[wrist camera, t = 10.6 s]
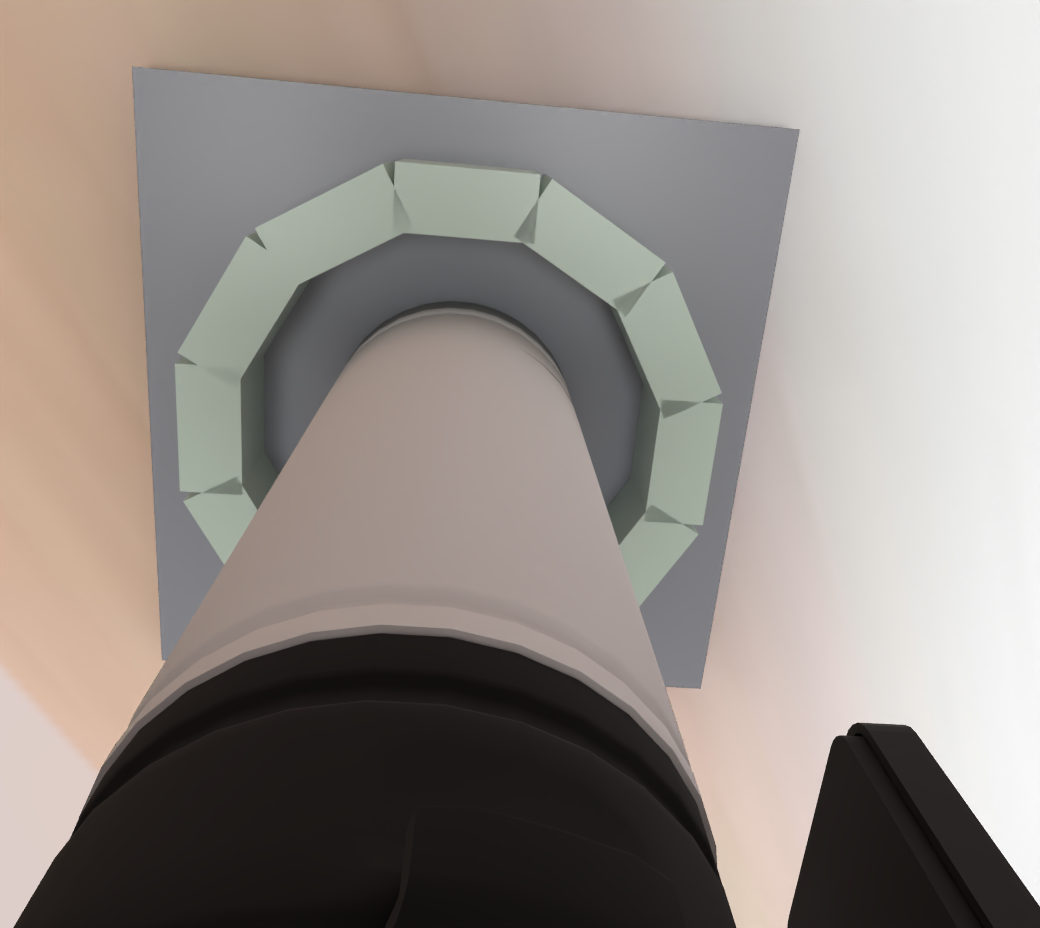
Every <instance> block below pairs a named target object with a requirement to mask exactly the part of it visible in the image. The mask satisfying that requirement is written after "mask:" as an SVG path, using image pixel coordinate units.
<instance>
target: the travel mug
mask: <svg viewBox="0 0 1040 928" xmlns="http://www.w3.org/2000/svg"><path fill="white" fill-rule="evenodd" d="M14 928H736V925H735V922H734V919H733V916H732V913H731V909H730V906H729V903H728V900H727V897H726V894H725V890H724V887H723V885H722V882H721V879H720V876H719V873H718V869H717V856H716V845H715V841H714V838H713V835H712V831H711V828H710V825H709V822H708V818H707V815H706V812H705V808H704V805H703V802H702V798H701V795H700V792H699V789H698V786H697V783H696V780H695V777H694V774H693V772H692V770H691V766H690V763H689V760H688V756H687V753H686V750H685V747H684V743H683V740H682V737H681V734H680V731H679V728H678V725H677V722H676V719H675V716H674V713H673V710H672V706H671V703H670V700H669V697H668V694H667V691H666V688H665V685H664V682H663V679H662V676H661V673H660V670H659V667H658V664H657V661H656V657H655V654H654V651H653V648H652V645H651V642H650V639H649V636H648V633H647V630H646V627H645V624H644V621H643V618H642V615H641V612H640V608H639V605H638V602H637V599H636V596H635V593H634V590H633V587H632V584H631V581H630V578H629V575H628V572H627V569H626V566H625V563H624V559H623V556H622V553H621V550H620V547H619V544H618V541H617V538H616V535H615V532H614V529H613V526H612V523H611V520H610V517H609V514H608V510H607V507H606V504H605V501H604V498H603V495H602V492H601V489H600V486H599V483H598V480H597V477H596V474H595V471H594V468H593V465H592V461H591V458H590V455H589V452H588V449H587V446H586V443H585V440H584V437H583V434H582V431H581V428H580V425H579V422H578V419H577V416H576V412H575V409H574V406H573V403H572V400H571V397H570V394H569V391H568V388H567V385H566V382H565V379H564V376H563V373H562V371H561V369H560V367H559V366H558V364H557V362H556V360H555V358H554V356H553V355H552V353H551V352H550V350H549V349H548V348H547V347H546V346H545V345H544V343H543V342H542V341H541V340H540V339H539V337H538V336H537V335H536V334H534V333H533V332H532V331H531V330H529V329H528V328H527V327H526V326H524V325H523V324H522V323H521V322H519V321H518V320H516V319H514V318H512V317H510V316H508V315H506V314H504V313H502V312H500V311H498V310H496V309H493V308H489V307H486V306H482V305H478V304H475V303H466V302H454V301H447V302H438V303H429V304H424V305H421V306H418V307H415V308H412V309H408V310H405V311H403V312H401V313H399V314H397V315H395V316H394V317H392V318H390V319H388V320H387V321H385V322H383V323H382V324H380V325H379V326H378V327H377V328H376V329H375V330H374V331H372V332H371V333H370V334H369V335H368V336H367V337H366V338H364V340H363V341H362V342H361V344H360V345H359V346H358V348H357V349H356V350H355V352H354V353H353V354H352V356H351V357H350V359H349V360H348V362H347V364H346V365H345V367H344V369H343V371H342V372H341V374H340V375H339V377H338V379H337V380H336V382H335V383H334V385H333V387H332V388H331V390H330V392H329V393H328V395H327V397H326V398H325V400H324V402H323V403H322V405H321V407H320V408H319V410H318V411H317V413H316V415H315V416H314V418H313V420H312V421H311V423H310V425H309V426H308V428H307V430H306V431H305V433H304V435H303V436H302V438H301V439H300V441H299V443H298V444H297V446H296V448H295V449H294V451H293V453H292V454H291V456H290V458H289V459H288V461H287V463H286V464H285V466H284V467H283V469H282V471H281V472H280V474H279V476H278V477H277V479H276V481H275V482H274V484H273V486H272V487H271V489H270V491H269V492H268V494H267V495H266V497H265V499H264V500H263V502H262V504H261V505H260V507H259V509H258V510H257V512H256V514H255V515H254V517H253V519H252V520H251V522H250V523H249V525H248V527H247V528H246V530H245V532H244V533H243V535H242V537H241V538H240V540H239V542H238V543H237V545H236V547H235V548H234V550H233V552H232V553H231V555H230V556H229V558H228V560H227V561H226V563H225V565H224V566H223V568H222V570H221V571H220V573H219V575H218V576H217V578H216V580H215V581H214V583H213V584H212V586H211V588H210V589H209V591H208V593H207V594H206V596H205V598H204V599H203V601H202V603H201V604H200V606H199V608H198V609H197V611H196V612H195V614H194V616H193V617H192V619H191V621H190V622H189V624H188V626H187V627H186V629H185V631H184V632H183V634H182V636H181V637H180V639H179V640H178V642H177V644H176V645H175V647H174V649H173V650H172V652H171V654H170V655H169V657H168V659H167V660H166V662H165V664H164V665H163V667H162V668H161V670H160V672H159V673H158V675H157V677H156V678H155V680H154V682H153V683H152V685H151V687H150V688H149V690H148V692H147V693H146V695H145V697H144V698H143V700H142V701H141V703H140V705H139V706H138V708H137V710H136V711H135V713H134V715H133V717H132V720H131V722H130V724H129V726H128V729H127V730H126V731H125V733H124V734H123V735H122V737H121V738H120V739H119V740H118V742H117V743H116V744H115V746H114V748H113V749H112V751H111V753H110V754H109V756H108V757H107V759H106V761H105V762H104V764H103V766H102V767H101V769H100V772H99V774H98V776H97V778H96V781H95V783H94V785H93V788H92V790H91V792H90V794H89V796H88V799H87V801H86V803H85V805H84V807H83V810H82V812H81V814H80V816H79V820H78V822H77V824H76V827H75V829H74V831H73V833H72V836H71V838H70V840H69V841H68V842H67V843H66V845H65V846H64V847H63V849H62V850H61V851H60V852H59V854H58V855H57V856H56V857H55V859H54V860H53V862H52V864H51V865H50V867H49V869H48V870H47V872H46V874H45V876H44V877H43V879H42V880H41V882H40V884H39V885H38V887H37V889H36V891H35V892H34V894H33V896H32V897H31V899H30V901H29V902H28V904H27V906H26V907H25V909H24V911H23V912H22V914H21V916H20V917H19V919H18V921H17V922H16V924H15V926H14Z"/></svg>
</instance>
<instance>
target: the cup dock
mask: <svg viewBox="0 0 1040 928" xmlns="http://www.w3.org/2000/svg"><path fill="white" fill-rule="evenodd" d="M132 74H133V93H134V113H135V133H136V153H137V173H138V193H139V213H140V232H141V252H142V272H143V292H144V312H145V332H146V352H147V371H148V391H149V411H150V431H151V451H152V471H153V491H154V510H155V530H156V550H157V570H158V590H159V610H160V629H161V649H162V660H167V659H168V657H169V655H170V654H171V652H172V650H173V649H174V647H175V645H176V644H177V642H178V640H179V639H180V637H181V636H182V634H183V632H184V631H185V629H186V627H187V626H188V624H189V622H190V621H191V619H192V617H193V616H194V614H195V612H196V611H197V609H198V608H199V606H200V604H201V603H202V601H203V599H204V598H205V596H206V594H207V593H208V591H209V589H210V588H211V586H212V584H213V583H214V581H215V580H216V578H217V576H218V575H219V573H220V571H221V570H222V568H223V566H224V565H225V563H226V561H227V560H228V558H229V556H230V555H231V553H232V552H233V550H234V548H235V547H236V545H237V543H238V542H239V540H240V538H241V537H242V535H243V533H244V532H245V530H246V528H247V527H248V525H249V523H250V522H251V520H252V519H253V517H254V515H255V514H256V512H257V510H258V509H259V507H260V505H261V504H262V502H263V500H264V499H265V497H266V495H267V494H268V492H269V491H270V489H271V487H272V486H273V484H274V482H275V481H276V479H277V477H278V476H279V474H280V472H281V471H282V469H283V467H284V466H285V464H286V463H287V461H288V459H289V458H290V456H291V454H292V453H293V451H294V449H295V448H296V446H297V444H298V443H299V441H300V439H301V438H302V436H303V435H304V433H305V431H306V430H307V428H308V426H309V425H310V423H311V421H312V420H313V418H314V416H315V415H316V413H317V411H318V410H319V408H320V407H321V405H322V403H323V402H324V400H325V398H326V397H327V395H328V393H329V392H330V390H331V388H332V387H333V385H334V383H335V382H336V380H337V379H338V377H339V375H340V374H341V372H342V371H343V369H344V367H345V365H346V364H347V362H348V360H349V359H350V357H351V356H352V354H353V353H354V352H355V350H356V349H357V348H358V346H359V345H360V344H361V342H362V341H363V340H364V338H366V337H367V336H368V335H369V334H370V333H371V332H372V331H374V330H375V329H376V328H377V327H378V326H379V325H380V324H382V323H383V322H385V321H387V320H388V319H390V318H392V317H394V316H395V315H397V314H399V313H401V312H403V311H405V310H408V309H412V308H415V307H418V306H421V305H424V304H429V303H438V302H447V301H454V302H466V303H475V304H478V305H482V306H486V307H489V308H493V309H496V310H498V311H500V312H502V313H504V314H506V315H508V316H510V317H512V318H514V319H516V320H518V321H519V322H521V323H522V324H523V325H524V326H526V327H527V328H528V329H529V330H531V331H532V332H533V333H534V334H536V335H537V336H538V337H539V339H540V340H541V341H542V342H543V343H544V345H545V346H546V347H547V348H548V349H549V350H550V352H551V353H552V355H553V356H554V358H555V360H556V362H557V364H558V366H559V367H560V369H561V371H562V373H563V376H564V379H565V382H566V385H567V388H568V391H569V394H570V397H571V400H572V403H573V406H574V409H575V412H576V416H577V419H578V422H579V425H580V428H581V431H582V434H583V437H584V440H585V443H586V446H587V449H588V452H589V455H590V458H591V461H592V465H593V468H594V471H595V474H596V477H597V480H598V483H599V486H600V489H601V492H602V495H603V498H604V501H605V504H606V507H607V510H608V514H609V517H610V520H611V523H612V526H613V529H614V532H615V535H616V538H617V541H618V544H619V547H620V550H621V553H622V556H623V559H624V563H625V566H626V569H627V572H628V575H629V578H630V581H631V584H632V587H633V590H634V593H635V596H636V599H637V602H638V605H639V608H640V612H641V615H642V618H643V621H644V624H645V627H646V630H647V633H648V636H649V639H650V642H651V645H652V648H653V651H654V654H655V657H656V661H657V664H658V667H659V670H660V673H661V676H662V679H663V682H664V685H665V687H680V688H699V689H701V683H702V678H703V672H704V666H705V661H706V655H707V649H708V644H709V638H710V632H711V627H712V621H713V615H714V610H715V604H716V599H717V593H718V587H719V582H720V576H721V570H722V565H723V559H724V553H725V548H726V542H727V537H728V531H729V525H730V520H731V514H732V508H733V503H734V497H735V491H736V486H737V480H738V474H739V469H740V463H741V458H742V452H743V446H744V441H745V435H746V429H747V424H748V418H749V412H750V407H751V401H752V396H753V390H754V384H755V379H756V373H757V367H758V362H759V356H760V350H761V345H762V339H763V333H764V328H765V322H766V317H767V311H768V305H769V300H770V294H771V288H772V283H773V277H774V271H775V266H776V260H777V255H778V249H779V243H780V238H781V232H782V226H783V221H784V215H785V209H786V204H787V198H788V192H789V187H790V181H791V176H792V170H793V164H794V159H795V153H796V147H797V142H798V136H799V129H788V128H778V127H767V126H756V125H746V124H735V123H725V122H714V121H703V120H693V119H682V118H672V117H661V116H650V115H640V114H629V113H619V112H608V111H598V110H587V109H576V108H566V107H555V106H545V105H534V104H523V103H513V102H502V101H492V100H481V99H470V98H460V97H449V96H439V95H428V94H417V93H407V92H396V91H386V90H375V89H365V88H354V87H343V86H333V85H322V84H312V83H301V82H290V81H280V80H269V79H259V78H248V77H237V76H227V75H216V74H206V73H195V72H184V71H174V70H163V69H153V68H142V67H132Z"/></svg>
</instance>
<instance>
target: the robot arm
mask: <svg viewBox="0 0 1040 928" xmlns="http://www.w3.org/2000/svg"><path fill="white" fill-rule="evenodd" d="M788 928H1040V906H1039V905H1038V903H1037V902H1036V901H1035V899H1034V898H1033V896H1032V895H1031V894H1030V892H1029V891H1028V889H1027V888H1026V887H1025V885H1024V884H1023V882H1022V881H1021V880H1020V878H1019V877H1018V875H1017V874H1016V873H1015V871H1014V870H1013V868H1012V867H1011V866H1010V864H1009V863H1008V861H1007V860H1006V859H1005V857H1004V856H1003V854H1002V853H1001V851H1000V850H999V849H998V847H997V846H996V844H995V843H994V842H993V840H992V839H991V837H990V836H989V835H988V833H987V832H986V830H985V829H984V828H983V826H982V825H981V823H980V822H979V821H978V819H977V818H976V816H975V815H974V814H973V812H972V811H971V809H970V808H969V807H968V805H967V804H966V802H965V801H964V800H963V798H962V797H961V795H960V794H959V792H958V791H957V790H956V788H955V787H954V785H953V784H952V783H951V781H950V780H949V778H948V777H947V776H946V774H945V773H944V771H943V770H942V769H941V767H940V766H939V764H938V763H937V762H936V760H935V759H934V757H933V756H932V755H931V753H930V752H929V750H928V749H927V748H926V746H925V745H924V743H923V742H922V740H921V739H920V738H919V736H918V735H917V733H916V732H915V731H914V730H913V729H912V728H911V727H909V726H906V725H894V724H873V723H856V724H853V725H852V726H851V728H850V729H849V730H848V733H847V736H841V735H840V736H837V737H836V738H835V739H834V740H833V743H832V745H831V749H830V753H829V757H828V761H827V765H826V769H825V773H824V777H823V781H822V785H821V789H820V793H819V797H818V801H817V805H816V809H815V813H814V817H813V822H812V826H811V830H810V834H809V838H808V842H807V846H806V850H805V854H804V858H803V862H802V866H801V870H800V874H799V878H798V882H797V886H796V890H795V894H794V898H793V902H792V906H791V910H790V915H789V919H788Z"/></svg>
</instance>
